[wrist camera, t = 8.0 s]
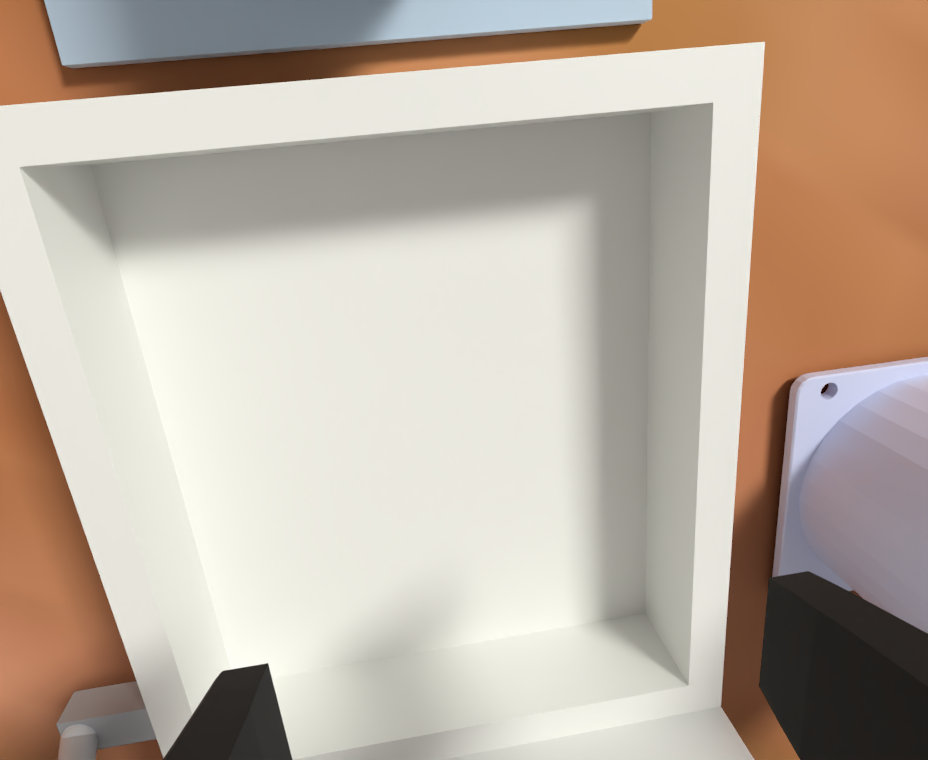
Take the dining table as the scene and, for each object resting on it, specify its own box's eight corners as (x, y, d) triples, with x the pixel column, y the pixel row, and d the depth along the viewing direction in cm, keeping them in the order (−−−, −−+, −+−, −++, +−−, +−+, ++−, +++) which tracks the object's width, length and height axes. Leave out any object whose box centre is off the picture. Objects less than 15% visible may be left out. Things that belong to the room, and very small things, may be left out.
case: (682, 66, 15) (971, -20, 8) (666, 645, 22) (821, 902, 14) (-62, 130, 14) (-573, 99, 6) (152, 737, 20) (20, 1083, 13)
